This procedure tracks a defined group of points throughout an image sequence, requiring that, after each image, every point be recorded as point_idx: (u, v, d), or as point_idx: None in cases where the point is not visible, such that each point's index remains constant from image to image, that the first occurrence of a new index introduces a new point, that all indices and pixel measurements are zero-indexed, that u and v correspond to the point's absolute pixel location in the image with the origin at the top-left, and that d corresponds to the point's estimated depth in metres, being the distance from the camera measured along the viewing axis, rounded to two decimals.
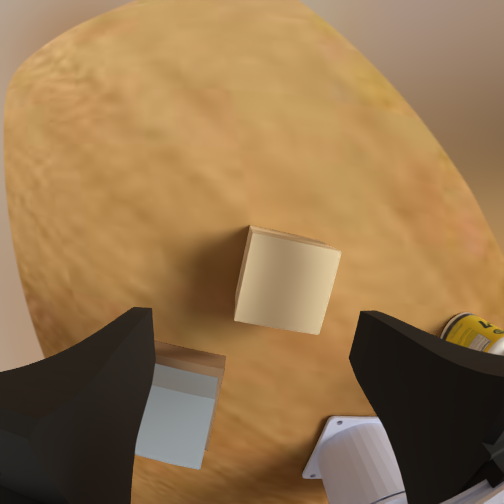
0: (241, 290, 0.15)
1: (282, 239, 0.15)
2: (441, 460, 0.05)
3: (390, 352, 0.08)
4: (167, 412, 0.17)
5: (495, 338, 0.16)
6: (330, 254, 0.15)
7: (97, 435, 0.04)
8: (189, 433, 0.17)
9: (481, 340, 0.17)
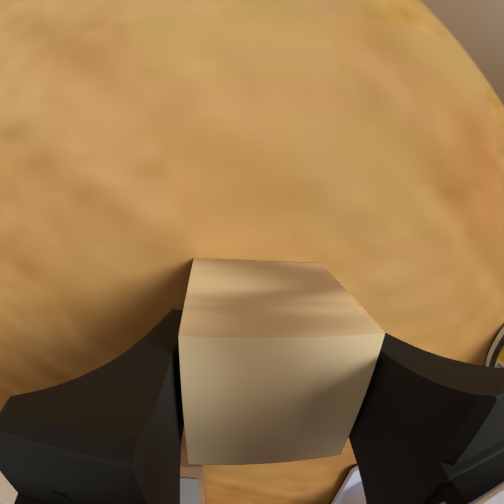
0: (186, 429, 0.07)
1: (251, 336, 0.06)
2: (399, 475, 0.05)
3: None
4: None
5: None
6: (362, 343, 0.07)
7: (165, 444, 0.05)
8: None
9: None
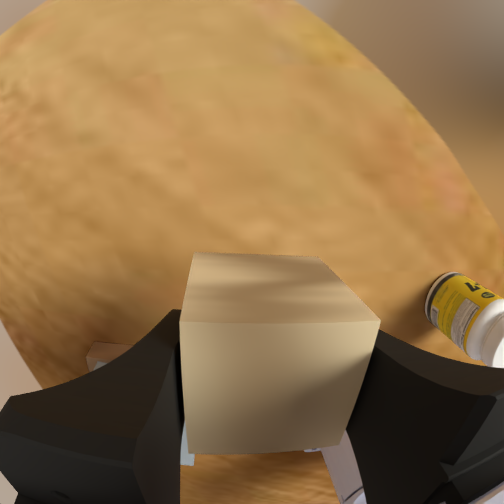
0: (187, 417, 0.07)
1: (250, 322, 0.06)
2: (399, 475, 0.05)
3: None
4: None
5: (483, 303, 0.16)
6: (358, 330, 0.07)
7: (164, 444, 0.05)
8: None
9: (468, 306, 0.17)
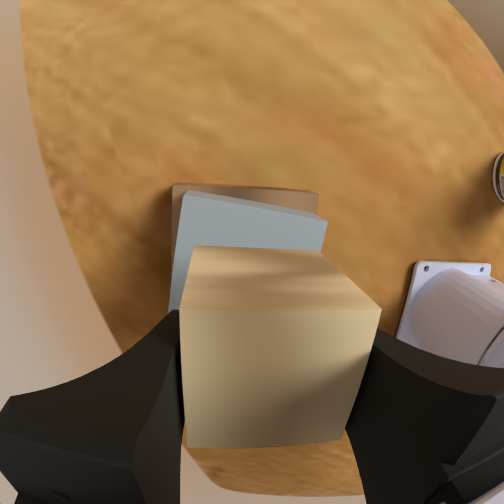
0: (186, 409, 0.07)
1: (250, 310, 0.07)
2: (399, 475, 0.05)
3: None
4: None
5: None
6: (359, 319, 0.07)
7: (164, 444, 0.05)
8: None
9: None
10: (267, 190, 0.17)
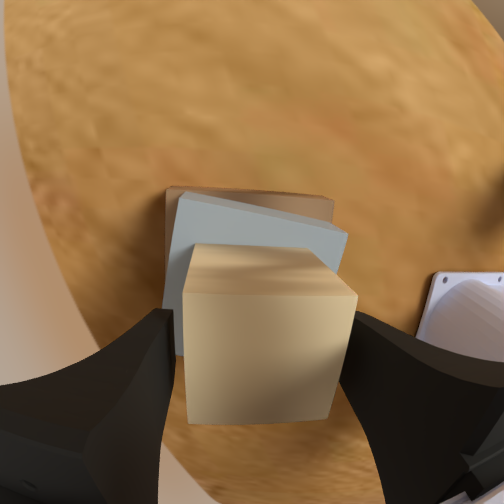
0: (187, 385, 0.08)
1: (243, 294, 0.08)
2: (419, 468, 0.05)
3: (370, 354, 0.08)
4: None
5: None
6: (338, 304, 0.08)
7: (133, 441, 0.04)
8: None
9: None
10: (276, 196, 0.15)
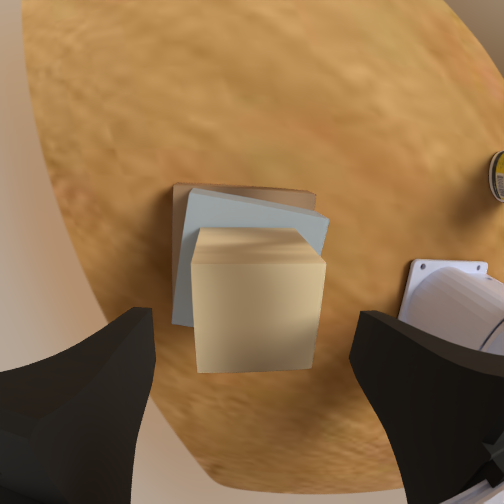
0: (196, 338, 0.11)
1: (236, 263, 0.10)
2: (441, 460, 0.05)
3: (390, 352, 0.08)
4: None
5: None
6: (310, 270, 0.11)
7: (97, 435, 0.04)
8: None
9: None
10: (266, 190, 0.17)
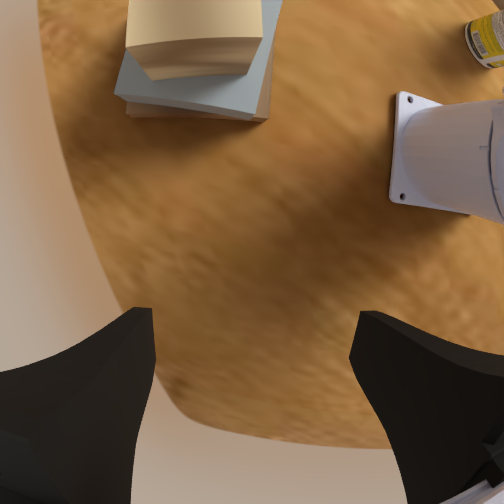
0: (130, 8, 0.07)
1: None
2: (441, 460, 0.05)
3: (390, 352, 0.08)
4: None
5: None
6: None
7: (97, 435, 0.04)
8: None
9: (498, 12, 0.12)
10: None
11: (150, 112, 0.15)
